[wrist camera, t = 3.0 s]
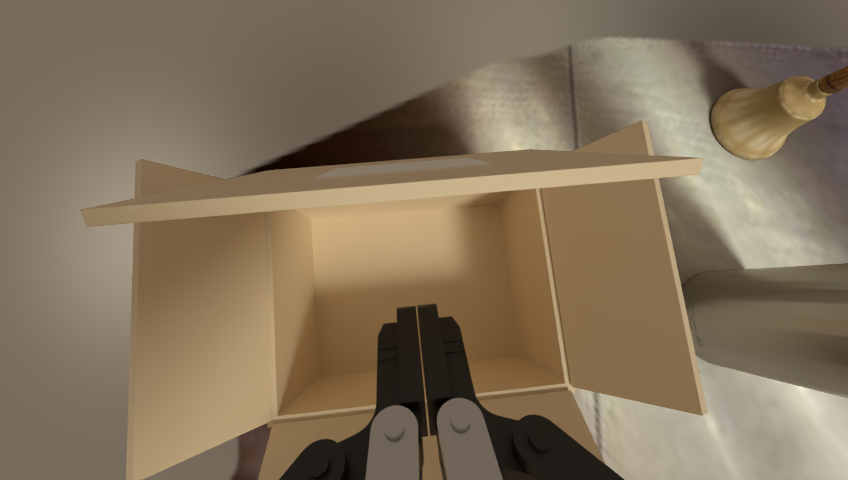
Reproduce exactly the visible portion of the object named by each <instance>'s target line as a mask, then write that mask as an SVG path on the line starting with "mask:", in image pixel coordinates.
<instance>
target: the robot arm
mask: <svg viewBox="0 0 848 480" xmlns="http://www.w3.org/2000/svg"><path fill="white" fill-rule="evenodd" d="M682 292H683V297H684V302H685V307H686V311H687V316H688V321H689V326H690V331H691V335H692V340H693V345H694V350H695V354H696V355H697V356H698V357H700V358H701V359H703V360H705V361H707V362H709V363H712V364H715V365H718V366H722V367H726V368H730V369H734V370H738V371H742V372H746V373H750V374H754V375H757V376H761V377H765V378H769V379H773V380H777V381H781V382H785V383H789V384H793V385H797V386H801V387H805V388H809V389H813V390H817V391H821V392H825V393H829V394H833V395H837V396H841V397H845V398H848V263H846V264H829V265H812V266H795V267H779V268H762V269H742V270H727V271H712V272H705V273H702V274H699V275H697V276H695V277H693V278H692V279H690V280H689V281H688V282H687V283H686V284H685V285H684V287H683V288H682ZM417 308H418V319H419V330H420V341H421V351H422V361H423V370H424V380H425V390H426V399H427V409H428V419H429V428H430V436H434V435H436V436H437V445H438V453H439V465H440V470H441V476H442V480H624V479H623V478H622V477H620V476H619V475H618V474H617V473H615V472H614V471H613V470H612V469H610V468H609V467H608V466H607V465H605V464H604V463H603V462H602V461H600V460H599V459H598V458H597V457H595V456H594V455H593V454H592V453H590V452H589V451H588V450H587V449H585V448H584V447H583V446H582V445H580V444H579V443H578V442H577V441H575V440H574V439H573V438H572V437H570V436H569V435H568V434H567V433H565V432H564V431H563V430H562V429H560V428H559V427H558V426H557V425H555V424H554V423H553V422H552V421H550V420H549V419H547V418H545V417H543V416H540V415H527V416H524V417H522V418H521V419H520V420H515V419H510V418H506V417H502V416H498V415H495V414H493V413H491V412H489V411H488V410H486V409H485V408H484V407H483V406H482V405H481V404H480V402H479V401H478V399H477V397H476V395H475V391H474V387H473V383H472V378H471V374H470V369H469V365H468V360H467V356H466V353H465V347H464V343H463V338H462V334H461V330H460V326H459V325H458V324H457V322H456V321H455V320H454V319H453V317H452V316H450V317H440V318H439V316H438V310H437V305H436V303H435V304H425V305H417ZM377 350H378V352H377V393H376V409H375V413H374V415H373V417H372V419H371V421H370V422H369V424H368V425H367V426H366V427H365V428H364V429H363V430H361V431H360V432H358V433H356V434H355V435H353V436H351V437H349V438H346V439H344V440H342V441H340V442H338V443H337V442H336V441H334V440H331V439H321V440H317V441H315V442H313V443H311V444H310V445H308V446H307V447H306V448H305V449H304V450H303V451H302V452H301V453H300V455H299V456H298V457H297V458H296V460H295V461H294V462H293V463H292V464H291V466H290V467H289V468H288V469H287V470H286V472H285V473H284V474H283V475H282V476H281V478H280V479H279V480H423V465H424V451H423V439H422V437H427V436H428V428H427V417H426V406H425V395H424V385H423V375H422V365H421V355H420V345H419V335H418V325H417V315H416V306H407V307H397V322H395V323H385V324H383V326H382V328H381V330H380V332H379V334H378V346H377Z"/></svg>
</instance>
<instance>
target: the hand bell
mask: <svg viewBox="0 0 848 480" xmlns="http://www.w3.org/2000/svg"><path fill="white" fill-rule="evenodd" d="M847 87H848V66H847V67H845V68H842V69H840V70H838V71H836V72H834V73H832V74H829V75H827V76H825V77H823V78H820V79H818V80H816V81H814V80H813V79H811V78H808V77H804V76H795V77H791V78H788V79H786V80H784V81H782V82H779V83H777V84H774V85H772V86H769V87H766V88H762V89H754V88H739V89H734V90H731V91H728V92H726V93H725V94H723V95H722V96H721V97H720V98H719V99H718V100H717V101H716V103H715V105H714V107H713V109H712V114H711V124H712V128H713V132H714V134H715V136H716V138H717V140H718V141H719V143H720V144H721V145H722V146H723V147H724V148H725V149H726V150H727V151H729V152H730V153H732V154H733V155H735V156H737V157H740V158H743V159H747V160H760V159H764V158H767V157H769V156H771V155H773V154H774V153H775V152H776V151H778V150H779V149H780V147H781V146H782V145H783V144H784V142H785V140H786V137H787V135H788V134H789V133H790V132H791V131H793V130H794V129H796V128H797V127H799V126H801V125H803V124H804V123H806V122H808V121H810V120H812V119H814V118H816V117H817V116H818V115H820V114H821V112H822V111H823V109H824V107H825V104H826V97H827V96H829V95H831V94H834V93H837V92H839V91H841V90H842V89H844V88H847Z"/></svg>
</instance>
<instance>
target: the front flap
mask: <svg viewBox="0 0 848 480" xmlns="http://www.w3.org/2000/svg"><path fill="white" fill-rule="evenodd" d="M702 159H703V158H691V157H671V156H651V155H631V154H612V153H592V152H572V151H552V150H532V149H529V150H517V151H504V152H492V153H479V154H467V155H454V156H442V157H429V158H417V159H404V160H392V161H379V162H367V163H354V164H342V165H329V166H317V167H304V168H292V169H279V170H268V171H263V172H259V173H254V174H249V175H244V176H240V177H235V178H230V179H225V180H220V181H216V182H211V183H206V184H201V185H197V186H192V187H187V188H182V189H178V190H173V191H168V192H163V193H158V194H154V195H149V196H144V197H139V198H135V199H130V200H125V201H121V202H116V203H111V204H106V205H101V206H97V207H92V208H87V209H82V210H81V213H82V215H83V218H84V220H85V223H86V226H87V227H92V226H104V225H114V224H115V225H116V224H127V223H139V222H151V221H162V220H174V219H186V218H198V217H209V216H221V215H233V214H244V213H256V212H268V211H279V210H291V209H303V208H314V207H326V206H338V205H349V204H361V203H373V202H385V201H396V200H408V199H420V198H431V197H443V196H455V195H466V194H478V193H490V192H501V191H513V190H525V189H537V188H548V187H560V186H572V185H583V184H595V183H607V182H618V181H630V180H642V179H653V178H665V177H677V176H689V175H700V171H701V165H702Z"/></svg>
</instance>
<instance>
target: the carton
mask: <svg viewBox="0 0 848 480" xmlns="http://www.w3.org/2000/svg"><path fill="white" fill-rule="evenodd" d="M572 152H592V153H612V154H631V155H651V156H654V153H653V148H652V143H651V138H650V134H649V129H648V124H647V122H644V121H640V122H638V123H635V124H633V125H631V126H629V127H626V128H624V129H622V130H619V131H617V132H615V133H613V134H610V135H608V136H606V137H604V138H601V139H599V140H597V141H595V142H592V143H590V144H588V145H586V146H583V147H581V148H579V149H577V150H574V151H572ZM135 179H136V180H135V198H139V197H144V196H149V195H154V194H158V193H163V192H168V191H173V190H178V189H182V188H187V187H192V186H197V185H201V184H206V183H211V182H216V181H220V180H225V179H220V178H216V177H213V176H209V175H204V174H200V173H196V172H192V171H188V170H184V169H179V168H175V167H172V166H167V165H163V164H159V163H155V162H151V161H147V160H143V159H141V160H139V161H137V162H136V178H135ZM133 244H134V245H133V276H132V307H131V338H130V370H129V403H128V435H127V436H128V437H127V467H126V480H142V479H145V478H147V477H149V476H151V475H153V474H156V473H158V472H160V471H162V470H164V469H167V468H169V467H171V466H173V465H175V464H178V463H180V462H182V461H184V460H186V459H189V458H191V457H193V456H195V455H197V454H200V453H202V452H204V451H206V450H208V449H211V448H213V447H215V446H217V445H219V444H221V443H224V442H226V441H228V440H230V439H233V438H235V437H237V436H239V435H241V434H244V433H246V432H248V431H250V430H252V429H254V428H257V427H259V426H261V425H263V424H265V423H268V427H272V429H271V433H270V436H269V440H268V444H267V448H266V451H265V455H264V459H263V463H262V466H261V470H260V474H259V478H258V480H279V479H280V478H281V476H282V475H283V474H284V473H285V472H286V470H287V469H288V468H289V467H290V466H291V464H292V463H293V462H294V461H295V460H296V458H297V457H298V456H299V455H300V453H301V452H302V451H303V450H304V449H305V448H306V447H307V446H308V445H310V444H311V443H313V442H315V441H317V440H321V439H331V440H334V441H336V442H337V443H338V442H340V441H342V440H344V439H346V438H349V437H351V436H353V435H355V434H356V433H358V432H360V431H361V430H363V429H364V428H365V427H366V426H367V425H368V424H369V422H370V421H371V419H372V417H373V415H374V413H375V409H376V393H377V352H378V350H377V346H378V334H379V332H380V330H381V328H382V326H383V324H385V323H395V322H397V307H407V306H416V315H417V325H418V335H419V345H420V355H421V365H422V375H423V385H424V395H425V406H426V417H427V428H428V436H427V437H422V439H423V451H424V465H423V480H442V476H441V470H440V465H439V453H438V445H437V436H436V435H434V436H430V428H429V419H428V409H427V399H426V390H425V380H424V370H423V361H422V351H421V341H420V330H419V319H418V308H417V305H425V304H435V303H436V305H437V310H438V316H439V318H440V317H450V316H452V317H453V319H454V320H455V321H456V322H457V324H458V325H459V326H460V330H461V334H462V338H463V343H464V347H465V353H466V356H467V360H468V365H469V369H470V374H471V378H472V383H473V387H474V391H475V395H476V397H477V399H478V401H479V402H480V404H481V405H482V406H483V407H484V408H485V409H486V410H488V411H489V412H491V413H493V414H495V415H498V416H502V417H506V418H510V419H515V420H520V419H521V418H522V417H524V416H527V415H540V416H543V417H545V418H547V419H549V420H550V421H552V422H553V423H554V424H555V425H557V426H558V427H559V428H560V429H562V430H563V431H564V432H565V433H567V434H568V435H569V436H570V437H572V438H573V439H574V440H575V441H577V442H578V443H579V444H580V445H582V446H583V447H584V448H585V449H587V450H588V451H589V452H590V453H592V454H593V455H594V456H595V457H597V458H598V459H599V460H600V461H602V462H603V463H604V461H603V459H602V456H601V454H600V452H599V450H598V448H597V446H596V444H595V441H594V439H593V437H592V435H591V433H590V431H589V429H588V426H587V424H586V422H585V420H584V418H583V416H582V414H581V412H580V409H579V407H578V405H577V403H576V401H575V399H574V397H573V394H572V392H575V388H580V389H584V390H589V391H593V392H598V393H602V394H607V395H611V396H616V397H621V398H625V399H630V400H634V401H639V402H643V403H648V404H652V405H657V406H662V407H666V408H671V409H675V410H680V411H684V412H689V413H693V414H698V415H702V416H703V415H704V414H705V413H707V407H706V403H705V398H704V393H703V388H702V383H701V379H700V374H699V369H698V364H697V359H696V355H695V350H694V345H693V340H692V335H691V331H690V326H689V321H688V316H687V311H686V307H685V302H684V297H683V292H682V287H681V283H680V278H679V273H678V268H677V263H676V259H675V254H674V249H673V244H672V239H671V235H670V230H669V225H668V220H667V215H666V210H665V206H664V201H663V196H662V191H661V186H660V182H659V178H653V179H642V180H630V181H618V182H607V183H595V184H583V185H572V186H560V187H548V188H537V189H525V190H513V191H501V192H490V193H478V194H466V195H455V196H443V197H431V198H420V199H408V200H396V201H385V202H373V203H361V204H349V205H338V206H326V207H314V208H303V209H291V210H279V211H268V212H256V213H244V214H233V215H221V216H209V217H198V218H186V219H174V220H162V221H151V222H139V223H134V241H133ZM604 464H605V463H604Z"/></svg>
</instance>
